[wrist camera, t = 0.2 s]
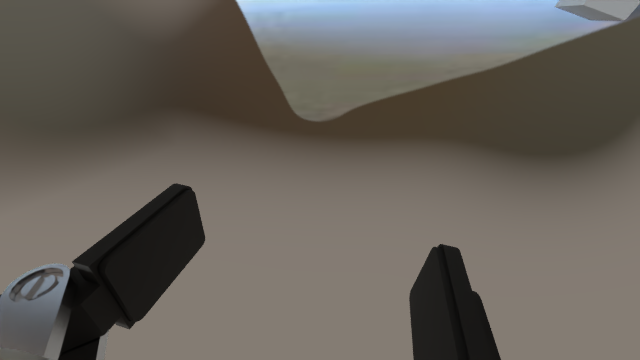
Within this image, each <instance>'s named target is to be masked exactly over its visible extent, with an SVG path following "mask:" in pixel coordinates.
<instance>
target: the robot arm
mask: <svg viewBox="0 0 640 360" xmlns="http://www.w3.org/2000/svg"><path fill="white" fill-rule="evenodd" d="M204 241H205V235H204V230H203V226H202V221H201V217H200V213H199V209H198V204H197V200H196V196H195V192H194V191H192V188H191V187H189V186H185V185H180V184H173V185H171V186H170V187H169V188H167V189H166V190H165V191H163V192H162V193H161V194H160V195H158V196H157V197H156V198H154V199H153V200H152V201H151V202H149V203H148V204H147V205H145V206H144V207H143V208H141V209H140V210H139V211H137V212H136V213H135V214H134V215H132V216H131V217H130V218H128V219H127V220H126V221H124V222H123V223H122V224H121V225H119V226H118V227H117V228H115V229H114V230H113V231H111V232H110V233H109V234H108V235H106V236H105V237H104V238H102V239H101V240H100V241H98V242H97V243H96V244H94V245H93V246H92V247H91V248H89V249H88V250H87V251H85V252H84V253H83V254H81V255H80V256H79V257H78V258H76V259H75V260H74V261H73V262H72V263H73V264H74V267H73V268H71V269H69V268H68V266H66V265H64V264H56V263H54V264H48V265H43V266H40V267H37V268H35V269H32V270H31V271H28V272H26V273H24V274H23V275H21V276H20V277H18V278H17V279H15V280H14V281H13V282H12V283H11V284H10V285H9V286H7V288H6V289H5V291H4V292H3V293H2V294H1V295H0V360H104V359H105V352H106V346H107V338H108V332H109V329H110V328H111V327H112V326H113V325H114V324H116V325H118V326H122V327H124V328H127V329H130V328H131V327H132V326H133V325H134V324H135V322H137V321H140V320H141V319H142V318H143V317H144V316H145V315H146V314H147V313H148V311H149V310H150V309H151V308H152V306H153V305H154V304H155V303H156V301H157V300H158V299H159V298H160V297H161V295H162V294H163V293H164V292H165V291H166V289H167V288H168V287H169V286H170V285H171V283H172V282H173V281H174V280H175V278H176V277H177V276H178V275H179V274H180V272H181V271H182V270H183V269H184V268H185V266H186V265H187V264H188V263H189V261H190V260H191V259H192V258H193V256H194V255H195V254H196V253H197V252H198V250H199V249H200V248H201V247H202V245H203V244H204ZM410 314H411V328H412V341H413V356H414V360H501V359H500V356H499V353H498V349H497V346H496V343H495V340H494V337H493V334H492V331H491V328H490V325H489V322H488V319H487V316H486V313H485V310H484V306H483V303H482V300H481V298H480V296H479V295H478V294H477V292H474V291H472V289H471V286H470V283H469V279H468V276H467V273H466V269H465V266H464V263H463V259H462V256H461V253H460V250H459V249H458V248H456V247H451V246H447V245H443V244H440V245H439V246H438V247H433V248H432V250H431V251H430V253H429V255H428V257H427V259H426V261H425V264H424V266H423V267H422V269H421V271H420V273H419V275H418V277H417V279H416V282H415V283H414V285H413V287H412V289H411V292H410Z"/></svg>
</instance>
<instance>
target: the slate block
mask: <svg viewBox="0 0 640 360" xmlns="http://www.w3.org/2000/svg"><path fill="white" fill-rule="evenodd" d="M639 4H640V0H559V1H558V3H557V4H556V6H555V7H557V8H559V9H562V10H565V11H567V12H570V13H572V14H575V15H578V16H580V17H583V18H586V19H588V20H626V19H627V18H628V16H629V15H630V14H631V13H632V12H633V11H634V10H635V8H636V7H637V6H638V5H639Z"/></svg>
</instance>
